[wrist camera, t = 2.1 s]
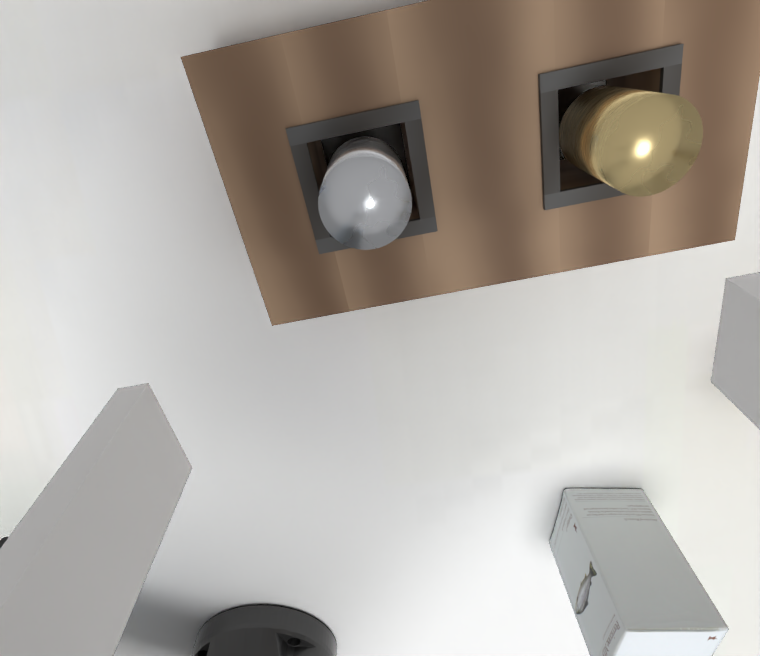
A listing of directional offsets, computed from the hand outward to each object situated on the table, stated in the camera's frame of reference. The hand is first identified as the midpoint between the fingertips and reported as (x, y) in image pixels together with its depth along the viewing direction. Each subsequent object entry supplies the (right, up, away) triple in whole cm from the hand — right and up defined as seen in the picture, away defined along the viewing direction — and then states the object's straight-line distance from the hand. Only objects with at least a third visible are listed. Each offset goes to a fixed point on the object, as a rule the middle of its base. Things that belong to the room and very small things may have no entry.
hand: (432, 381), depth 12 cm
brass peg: (+10, +11, +14) cm, 20 cm away
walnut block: (+4, +13, +19) cm, 23 cm away
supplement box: (+18, -16, +35) cm, 42 cm away
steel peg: (-2, +9, +15) cm, 17 cm away
